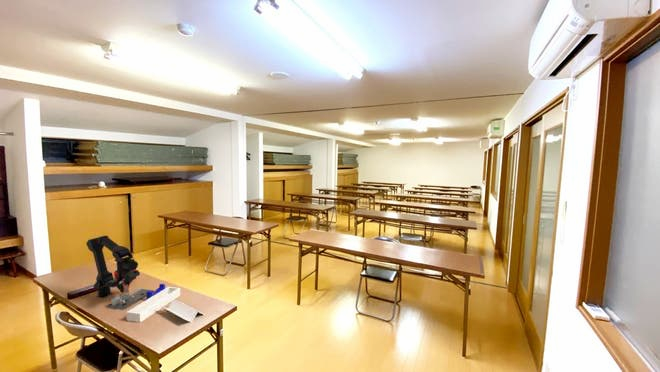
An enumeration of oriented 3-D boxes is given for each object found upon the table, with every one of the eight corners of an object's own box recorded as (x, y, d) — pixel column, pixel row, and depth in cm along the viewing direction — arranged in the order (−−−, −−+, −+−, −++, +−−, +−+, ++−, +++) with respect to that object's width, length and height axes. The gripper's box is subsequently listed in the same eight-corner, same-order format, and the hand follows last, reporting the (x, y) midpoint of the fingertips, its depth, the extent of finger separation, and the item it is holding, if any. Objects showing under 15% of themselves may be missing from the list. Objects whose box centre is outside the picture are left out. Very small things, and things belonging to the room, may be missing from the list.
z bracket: (174, 312, 170) (181, 302, 174) (198, 325, 157) (205, 314, 161) (159, 305, 162) (166, 295, 165) (183, 318, 149) (190, 307, 152)
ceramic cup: (126, 277, 209) (125, 264, 208) (141, 281, 203) (140, 268, 202) (107, 284, 197) (106, 271, 196) (122, 288, 191) (121, 275, 190)
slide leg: (120, 298, 174) (119, 285, 173) (124, 296, 177) (123, 283, 176) (131, 300, 172) (130, 287, 171) (135, 297, 175) (134, 284, 174)
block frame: (126, 320, 154) (126, 312, 154) (168, 293, 185) (168, 286, 184) (140, 322, 153) (139, 313, 152) (180, 295, 183) (180, 288, 182)
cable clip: (159, 291, 188) (159, 283, 187) (165, 292, 187) (164, 284, 186) (144, 300, 176) (144, 291, 175) (150, 301, 175) (150, 292, 175)
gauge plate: (107, 307, 167) (107, 300, 167) (138, 290, 189) (138, 283, 188) (123, 309, 165) (123, 302, 164) (153, 292, 186) (153, 285, 186)
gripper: (119, 275, 162) (121, 299, 164) (145, 263, 181) (147, 285, 182) (104, 273, 164) (106, 298, 166) (131, 262, 183) (133, 284, 184)
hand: (124, 291), depth 175 cm, fingers closed on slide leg, 3 cm apart
